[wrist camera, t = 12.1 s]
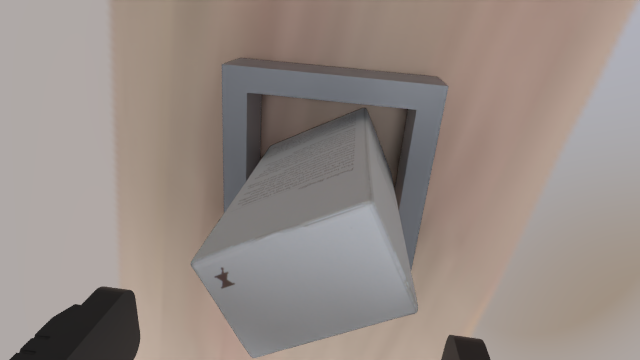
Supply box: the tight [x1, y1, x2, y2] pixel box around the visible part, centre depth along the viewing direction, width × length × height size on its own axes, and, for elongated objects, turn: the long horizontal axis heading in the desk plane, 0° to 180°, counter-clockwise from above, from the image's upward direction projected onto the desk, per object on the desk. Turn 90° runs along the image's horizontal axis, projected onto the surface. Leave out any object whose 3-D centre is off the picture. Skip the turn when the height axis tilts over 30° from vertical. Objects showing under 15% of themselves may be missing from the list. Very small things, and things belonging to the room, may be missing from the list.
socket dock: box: [222, 58, 448, 270], centre depth 22 cm, size 10×10×3 cm
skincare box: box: [191, 108, 418, 358], centre depth 17 cm, size 6×4×12 cm
